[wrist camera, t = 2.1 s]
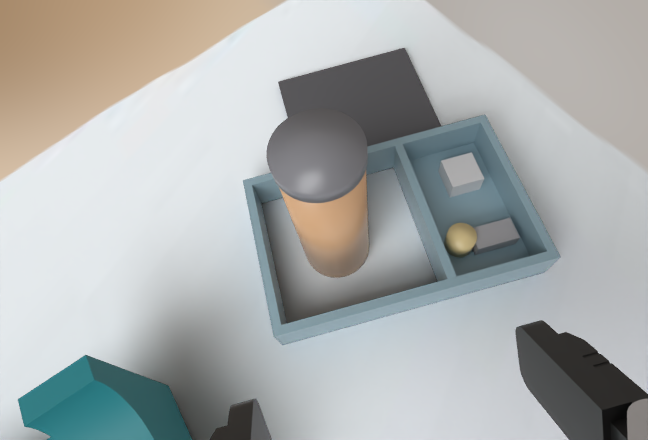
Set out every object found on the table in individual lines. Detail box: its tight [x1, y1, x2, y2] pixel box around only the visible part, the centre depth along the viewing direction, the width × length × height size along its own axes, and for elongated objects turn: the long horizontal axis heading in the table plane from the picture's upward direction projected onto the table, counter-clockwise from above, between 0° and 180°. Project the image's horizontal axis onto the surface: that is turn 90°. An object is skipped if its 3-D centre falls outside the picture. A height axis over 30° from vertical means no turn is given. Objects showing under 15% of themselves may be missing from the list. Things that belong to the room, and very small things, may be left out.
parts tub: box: [243, 115, 560, 345], centre depth 32 cm, size 19×12×3 cm, turn 104°
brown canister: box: [267, 108, 369, 278], centre depth 28 cm, size 5×5×13 cm
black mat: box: [278, 48, 441, 147], centre depth 39 cm, size 12×10×1 cm
